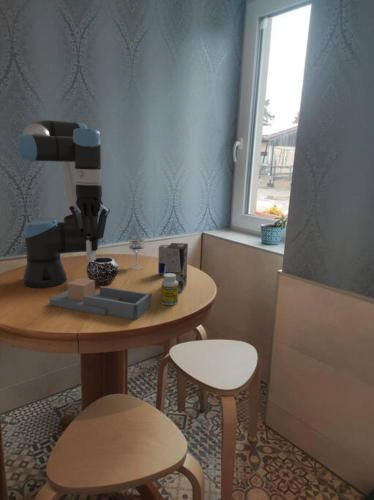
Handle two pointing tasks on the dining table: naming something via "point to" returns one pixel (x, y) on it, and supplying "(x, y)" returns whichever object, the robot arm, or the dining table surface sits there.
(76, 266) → the dining table surface
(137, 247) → the wineglass
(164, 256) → the energy drink
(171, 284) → the supplement bottle
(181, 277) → the coffee box
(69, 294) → the terracotta block
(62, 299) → the sliding lid box
